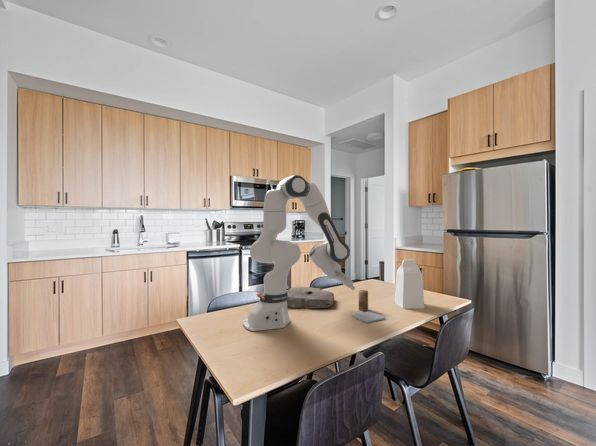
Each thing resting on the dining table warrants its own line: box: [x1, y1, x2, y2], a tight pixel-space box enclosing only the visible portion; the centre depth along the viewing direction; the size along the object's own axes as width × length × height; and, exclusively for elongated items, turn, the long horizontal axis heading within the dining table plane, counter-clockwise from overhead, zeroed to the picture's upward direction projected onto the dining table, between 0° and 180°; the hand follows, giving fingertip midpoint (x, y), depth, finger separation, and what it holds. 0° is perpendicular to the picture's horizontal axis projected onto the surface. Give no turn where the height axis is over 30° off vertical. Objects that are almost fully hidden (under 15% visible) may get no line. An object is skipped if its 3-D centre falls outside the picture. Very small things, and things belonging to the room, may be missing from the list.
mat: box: [351, 310, 387, 324], centre depth 137 cm, size 12×11×1 cm
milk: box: [394, 259, 425, 310], centre depth 156 cm, size 12×12×26 cm
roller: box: [358, 289, 369, 312], centre depth 149 cm, size 5×5×10 cm
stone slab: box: [287, 286, 335, 310], centre depth 165 cm, size 31×29×6 cm
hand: (350, 286), depth 149 cm, fingers open, 8 cm apart
